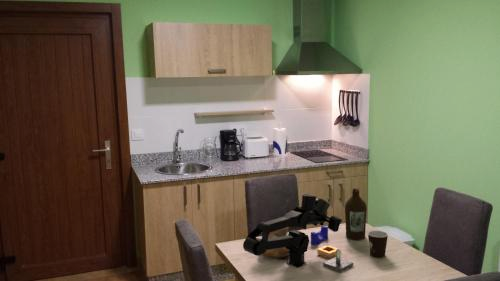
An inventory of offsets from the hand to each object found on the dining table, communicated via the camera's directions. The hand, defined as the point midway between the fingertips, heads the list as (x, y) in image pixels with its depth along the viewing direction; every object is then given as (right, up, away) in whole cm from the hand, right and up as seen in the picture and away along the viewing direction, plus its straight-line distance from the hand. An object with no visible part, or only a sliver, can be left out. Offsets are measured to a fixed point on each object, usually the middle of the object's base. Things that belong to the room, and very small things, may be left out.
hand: (334, 216), depth 211 cm
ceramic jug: (-27, -17, -3) cm, 32 cm away
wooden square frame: (-3, -16, -4) cm, 17 cm away
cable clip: (-6, -14, +13) cm, 20 cm away
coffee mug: (+18, -16, -5) cm, 25 cm away
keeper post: (-2, -18, -17) cm, 25 cm away
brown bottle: (+14, -13, +17) cm, 25 cm away
